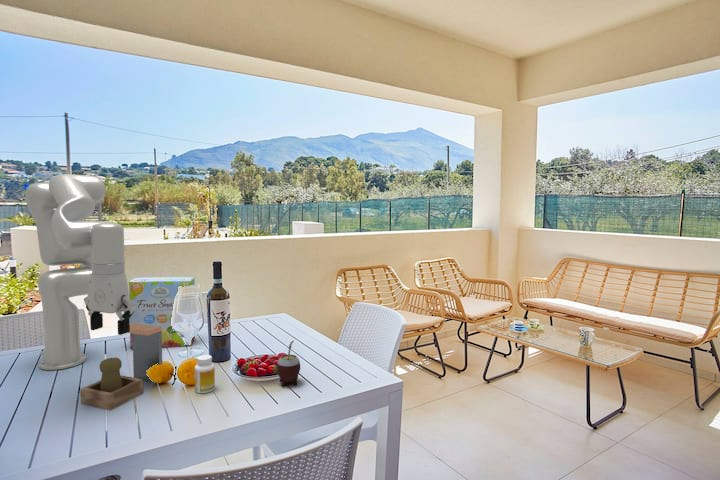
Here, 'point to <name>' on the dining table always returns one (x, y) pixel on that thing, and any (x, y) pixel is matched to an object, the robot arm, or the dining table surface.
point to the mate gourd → (288, 368)
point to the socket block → (114, 399)
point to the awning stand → (146, 348)
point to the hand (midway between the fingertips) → (110, 331)
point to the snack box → (157, 305)
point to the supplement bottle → (204, 374)
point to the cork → (110, 375)
